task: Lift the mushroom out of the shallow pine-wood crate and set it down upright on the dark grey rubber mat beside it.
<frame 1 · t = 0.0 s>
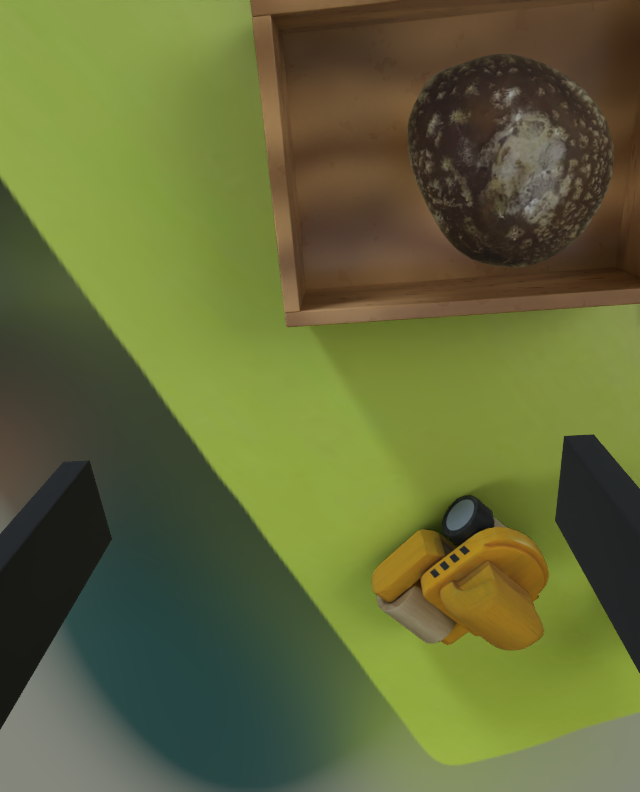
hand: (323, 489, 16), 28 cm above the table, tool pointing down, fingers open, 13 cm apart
mushroom: (459, 158, 38), resting on crate
toy roller: (452, 551, 51), on the table
crate: (458, 158, 38), on the table
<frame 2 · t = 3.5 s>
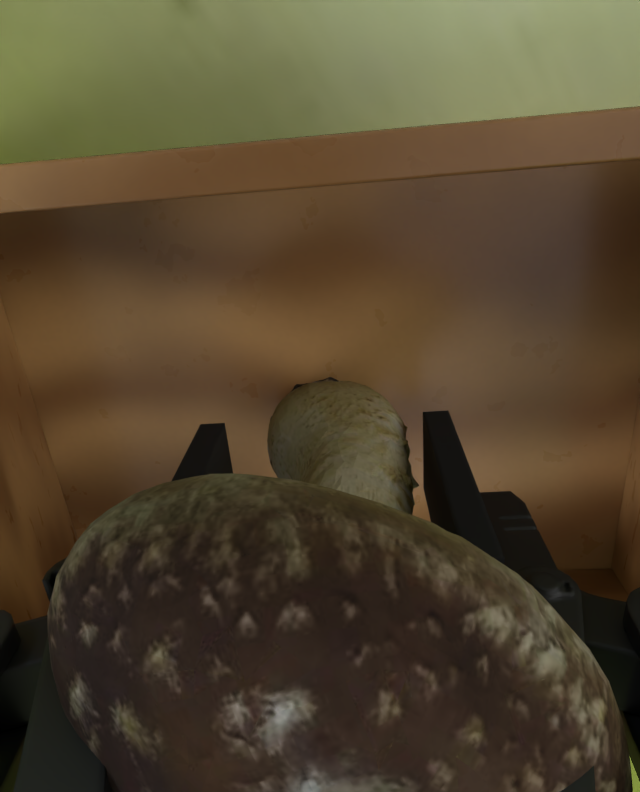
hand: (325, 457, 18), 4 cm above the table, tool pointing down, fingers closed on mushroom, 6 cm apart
mushroom: (329, 405, 21), resting on crate, touching gripper
crate: (329, 403, 21), on the table
when the fingers open (4 cm above the table, at t = 11.2 s): mushroom stays where it is, resting on mat.
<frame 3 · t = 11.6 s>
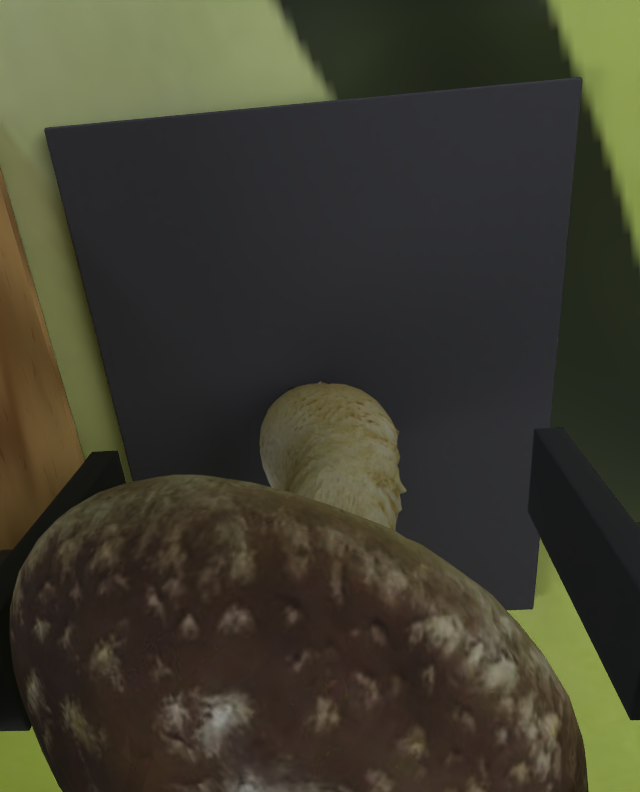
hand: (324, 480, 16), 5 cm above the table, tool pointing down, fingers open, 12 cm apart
mushroom: (325, 407, 21), resting on mat
mat: (329, 402, 21), on the table
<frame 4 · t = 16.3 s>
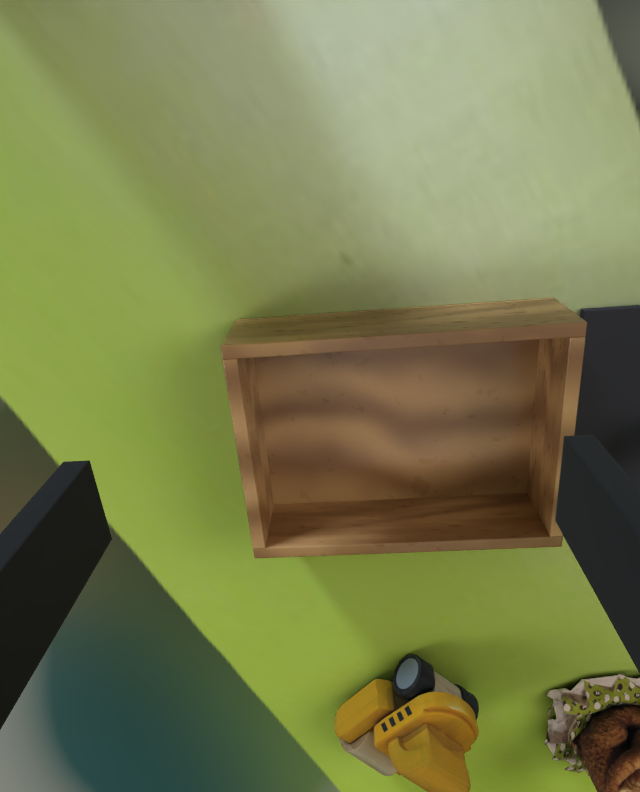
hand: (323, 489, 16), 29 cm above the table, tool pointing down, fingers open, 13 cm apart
bear figurine: (613, 714, 60), on the table
toy roller: (404, 692, 60), on the table
crate: (395, 414, 47), on the table
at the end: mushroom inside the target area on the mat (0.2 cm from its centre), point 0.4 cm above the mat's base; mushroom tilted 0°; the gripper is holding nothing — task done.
